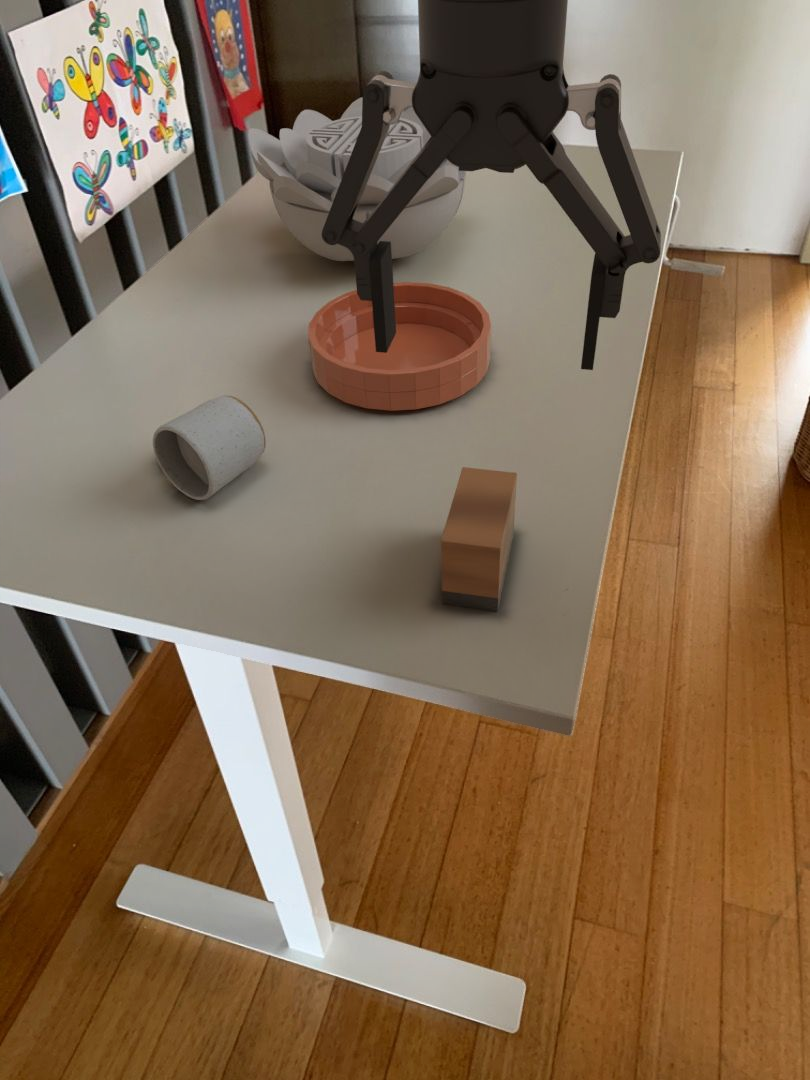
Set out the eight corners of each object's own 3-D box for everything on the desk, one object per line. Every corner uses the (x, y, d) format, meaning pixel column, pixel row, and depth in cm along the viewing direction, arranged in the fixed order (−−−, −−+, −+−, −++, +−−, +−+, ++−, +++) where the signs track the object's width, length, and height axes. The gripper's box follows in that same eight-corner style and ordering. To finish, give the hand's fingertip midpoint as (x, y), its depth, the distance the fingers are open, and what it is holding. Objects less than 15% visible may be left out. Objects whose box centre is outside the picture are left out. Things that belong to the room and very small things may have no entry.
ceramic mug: (277, 465, 82) (263, 398, 77) (218, 512, 77) (199, 444, 72) (200, 433, 87) (182, 367, 81) (140, 475, 82) (117, 409, 77)
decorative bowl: (305, 197, 131) (292, 91, 120) (493, 210, 124) (496, 99, 114) (222, 287, 110) (197, 169, 100) (443, 309, 103) (441, 184, 93)
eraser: (462, 529, 74) (462, 466, 69) (513, 535, 73) (517, 472, 68) (442, 603, 68) (440, 540, 63) (497, 611, 67) (500, 548, 62)
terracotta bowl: (501, 327, 99) (503, 287, 96) (472, 423, 85) (473, 381, 82) (342, 315, 103) (338, 276, 100) (289, 405, 89) (283, 364, 86)
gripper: (229, -11, 41) (289, 364, 56) (765, -14, 36) (678, 398, 51) (280, -41, 47) (323, 309, 61) (754, -46, 42) (678, 336, 56)
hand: (484, 350), depth 56 cm, fingers open, 13 cm apart
